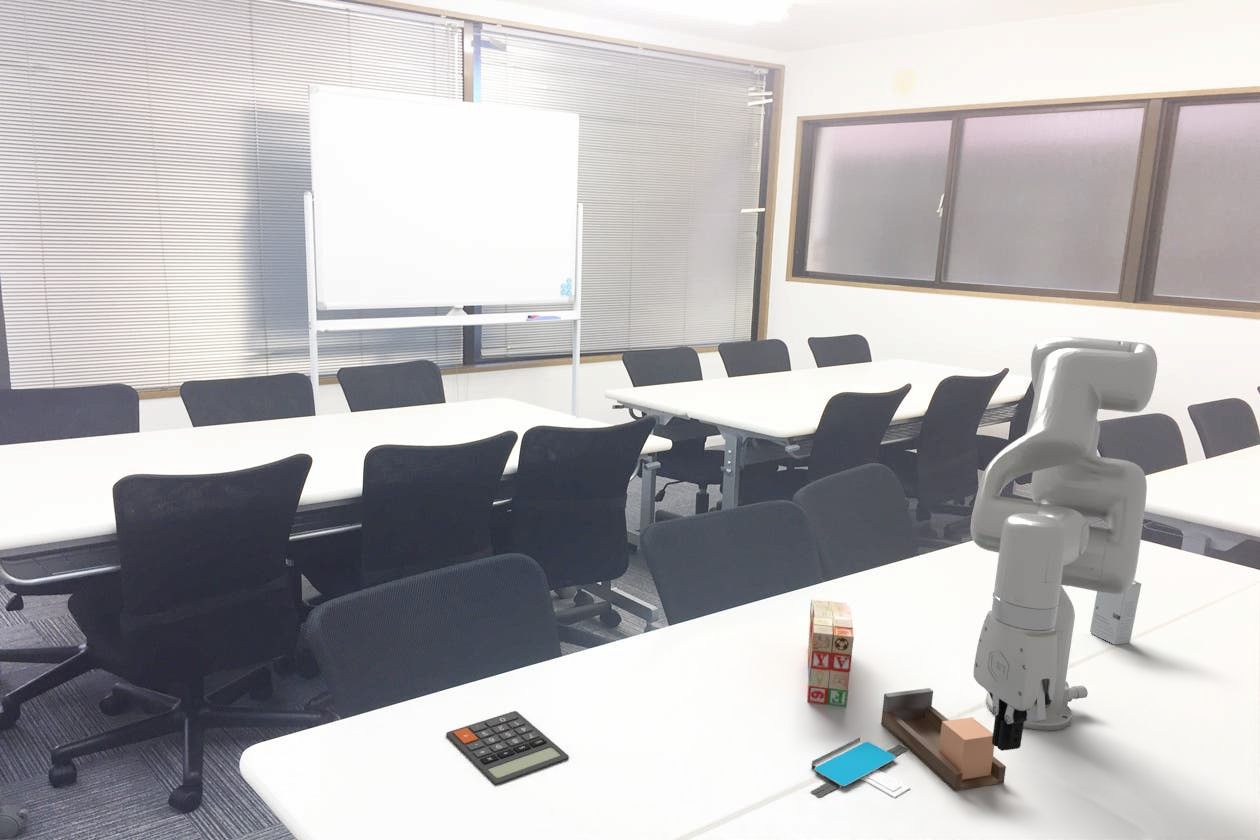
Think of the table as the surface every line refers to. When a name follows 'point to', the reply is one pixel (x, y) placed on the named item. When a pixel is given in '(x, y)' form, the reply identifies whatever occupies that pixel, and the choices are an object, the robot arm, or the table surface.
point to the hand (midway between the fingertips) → (1005, 746)
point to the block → (967, 746)
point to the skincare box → (1115, 615)
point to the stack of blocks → (829, 652)
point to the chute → (929, 736)
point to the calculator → (506, 747)
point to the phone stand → (858, 768)
